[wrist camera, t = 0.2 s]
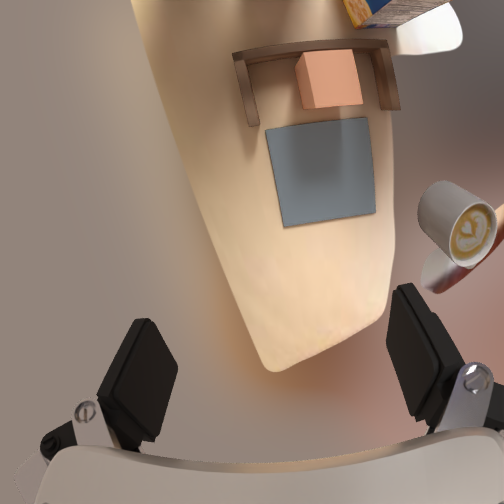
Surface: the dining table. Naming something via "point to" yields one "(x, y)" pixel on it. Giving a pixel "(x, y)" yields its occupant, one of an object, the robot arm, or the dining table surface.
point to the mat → (323, 170)
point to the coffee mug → (457, 222)
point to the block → (328, 79)
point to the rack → (290, 50)
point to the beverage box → (387, 11)
